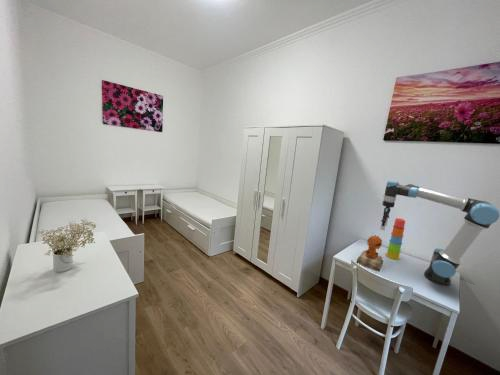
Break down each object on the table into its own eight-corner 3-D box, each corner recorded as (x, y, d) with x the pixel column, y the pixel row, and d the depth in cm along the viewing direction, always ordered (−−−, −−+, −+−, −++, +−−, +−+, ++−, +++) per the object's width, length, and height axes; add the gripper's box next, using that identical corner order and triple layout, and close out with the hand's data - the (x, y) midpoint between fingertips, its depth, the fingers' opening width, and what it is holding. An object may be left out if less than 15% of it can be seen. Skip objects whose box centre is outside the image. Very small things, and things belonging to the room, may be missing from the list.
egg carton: (382, 263, 174) (384, 257, 173) (379, 271, 162) (380, 264, 161) (361, 256, 184) (362, 249, 183) (356, 262, 172) (357, 256, 170)
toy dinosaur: (381, 261, 166) (386, 239, 162) (366, 258, 168) (371, 237, 164) (376, 254, 176) (381, 234, 173) (362, 251, 178) (366, 231, 175)
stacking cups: (400, 261, 181) (410, 222, 174) (386, 257, 185) (395, 219, 178) (398, 255, 190) (407, 219, 183) (384, 252, 195) (393, 216, 187)
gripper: (385, 197, 175) (380, 222, 179) (381, 202, 155) (375, 230, 160) (396, 199, 170) (390, 224, 175) (393, 205, 151) (387, 233, 155)
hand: (383, 227), depth 167 cm, fingers open, 13 cm apart
